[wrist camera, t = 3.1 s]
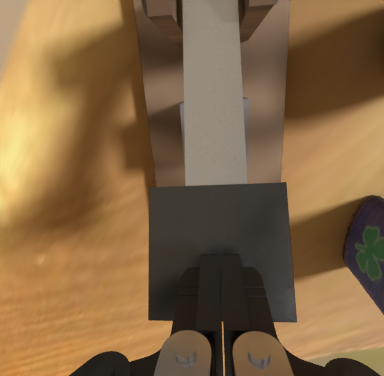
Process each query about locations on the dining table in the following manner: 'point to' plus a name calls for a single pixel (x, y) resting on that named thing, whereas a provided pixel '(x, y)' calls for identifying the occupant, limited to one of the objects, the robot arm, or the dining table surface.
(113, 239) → the dining table surface
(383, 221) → the flask
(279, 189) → the lever
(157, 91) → the frame
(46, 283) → the dining table surface
